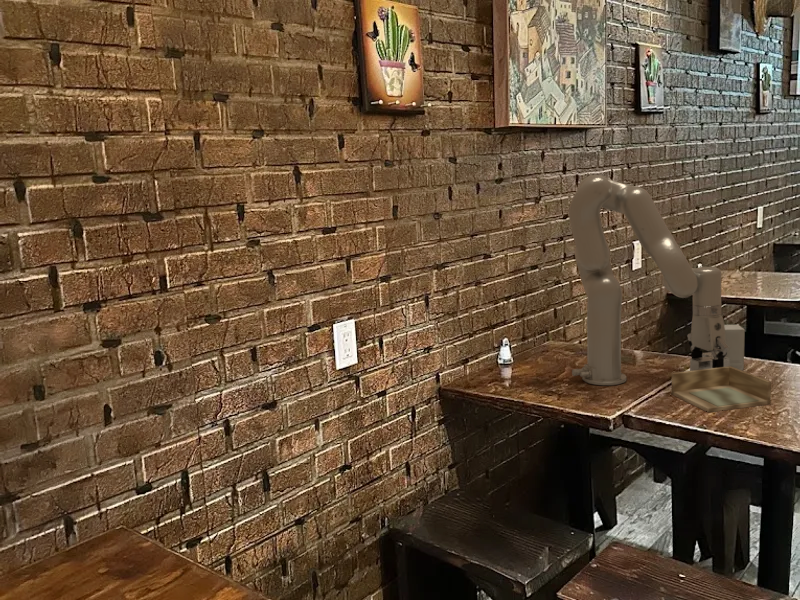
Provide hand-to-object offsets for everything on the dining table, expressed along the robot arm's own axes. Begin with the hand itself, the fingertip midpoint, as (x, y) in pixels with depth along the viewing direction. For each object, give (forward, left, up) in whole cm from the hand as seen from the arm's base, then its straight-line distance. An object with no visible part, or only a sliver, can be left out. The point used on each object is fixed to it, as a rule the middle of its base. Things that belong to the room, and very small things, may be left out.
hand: (707, 368), depth 206 cm
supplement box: (+13, +8, -4) cm, 16 cm away
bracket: (+1, +2, -3) cm, 4 cm away
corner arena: (-8, -17, -3) cm, 19 cm away
